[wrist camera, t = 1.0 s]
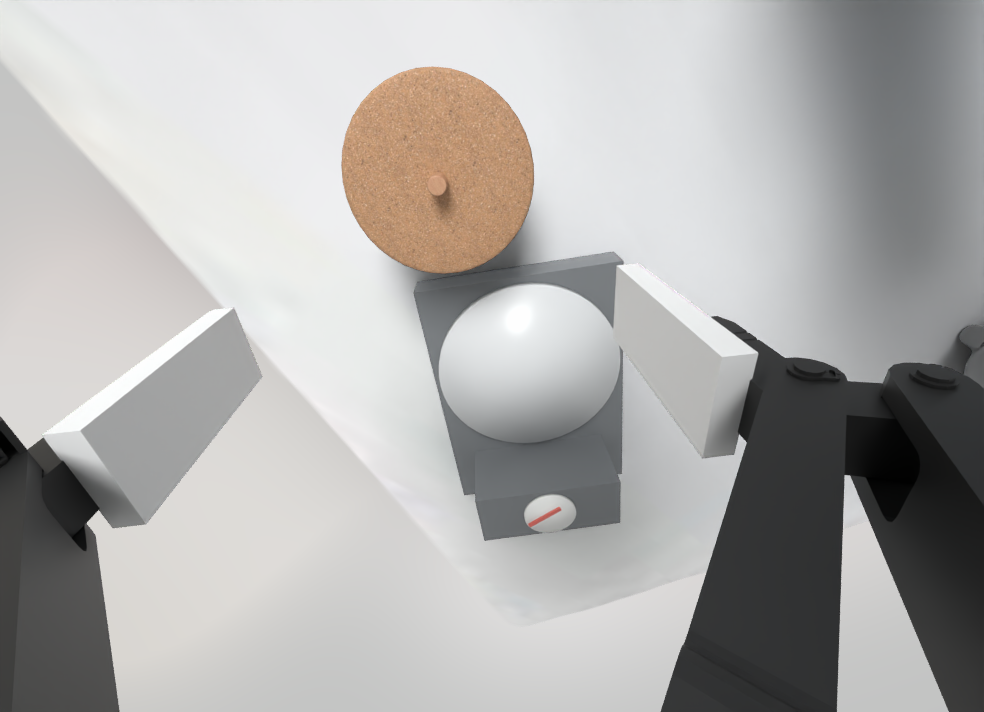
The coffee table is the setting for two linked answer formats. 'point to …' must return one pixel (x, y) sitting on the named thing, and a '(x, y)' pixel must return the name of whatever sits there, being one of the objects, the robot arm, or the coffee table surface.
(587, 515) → the scale
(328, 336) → the coffee table surface
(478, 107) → the lidded jar
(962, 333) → the piggy bank
